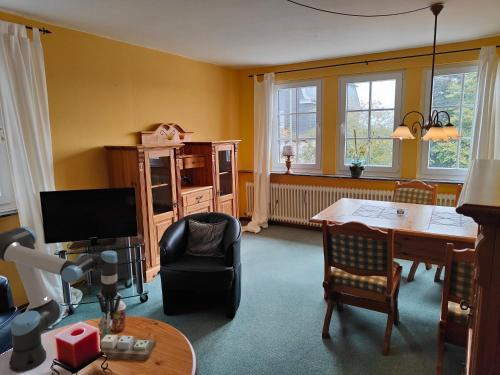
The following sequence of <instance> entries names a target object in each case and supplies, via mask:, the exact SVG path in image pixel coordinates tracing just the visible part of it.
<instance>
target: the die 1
mask: <svg viewBox="0 0 500 375" xmlns="http://www.w3.org/2000/svg"><path fill="white" fill-rule="evenodd" d="M100 342H101V348H109V349H113V348H114V347H115V346H116V344H117V342H118V334H112V335H106V336H105V337H104V338H103V339H100Z"/></svg>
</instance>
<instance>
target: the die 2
mask: <svg viewBox="0 0 500 375" xmlns="http://www.w3.org/2000/svg"><path fill="white" fill-rule="evenodd" d="M133 338H134V336H133V335H124V334H123V335H121V336H120V339H119V340H118V342H117V349H126V350H130V348H131V347H132V345H133V344H134V343H133Z"/></svg>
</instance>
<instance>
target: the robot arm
mask: <svg viewBox="0 0 500 375" xmlns="http://www.w3.org/2000/svg"><path fill="white" fill-rule="evenodd" d="M37 239H38V238H37V235H36V232H35V231H34V230H33V229H32V228H29V227H28V226H18V227H14V228H11V229H8V230H6V231H5V230H4V231H3V232H0V261H3V262H7V263H10V262H14V264H15V267H16V270H17V272H18V276H19V277H20V280H21V283H22V286H23V288H24V291H25V294H26V297H27V299H28V302H29V304H28V306H27V310H28V311H25V312H22V313H20V314H18V315H16V316H15V317H14V318H13V319H12V321H11V325H10V326H11V327H10V332H11V341H12V343H11V344H12V353H11V356H10V358H9V362H8V365H9V369H10V371H12V372H17V373H20V372H27V371H30V370H33V369H35V368H37V367H39V366H40V365H42V364H43V363H44V362H46V360H47V351H46V350H45V348H44V346H43V344H42V334H43V333H44V332H45V331H46V330H47V329H49V328H50V327H51V326H52V325H54V324H56V322H58V320H59V319H60V318H61V316H62V314H63V308H62V304H61V302H59V301H58V300H56V299H54V297H53V296H51V295H49V293H48V290H47V288H46V286H45V281H44V279H43V277H42V274H41V270H42V271H44V272H47V273H50V274H51V273H52V274H54V275H57V276H60V277H61V279H62V280H63V281H64V282H65V283H75V282H77V281H78V280H80V279H81V278H82V277H84V276H85V275H87V274H88V273H89V272H91V271H100V272H101V273H100V274H101V276H100V278H101V283H100V284H101V285H100V286H101V290H100V292H98V293H97V294H96V295H95V296H96V298H97V301H98V304H99V307H100V311H101V313H102V314H103V313H104V315H105V319H107V326H111V327H112V320H113V318H114V313H116V312H117V311H118V307H119V303H120V301H121V298H122V297H123V294H122V293H121V294H120V293H119V291H118V253H117V251H114V250H105V251H102V252H100V253H101V254H93V253H92V254H90V253H80V254H79V255H77V258H76V260H75V261H72V260H68V259H66V258H62V257H59V256H56V255H52V254H49V253H45V252H43V251H41V250H40V251H39V250H37V249H36V247H35V244H36V241H37ZM115 298H116V300H115ZM114 302H116V303H115V307H114Z"/></svg>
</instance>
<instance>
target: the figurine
mask: <svg viewBox="0 0 500 375" xmlns="http://www.w3.org/2000/svg"><path fill="white" fill-rule="evenodd" d="M97 326H98V328H99V331H101V339H100V340H102V339H103V338H104V337H105V336H106V335H113V334H112V333H111V331H112V325H111V326H107V319H105V314H102V316H101V318H100V321H99V323H98V324H97Z"/></svg>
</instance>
